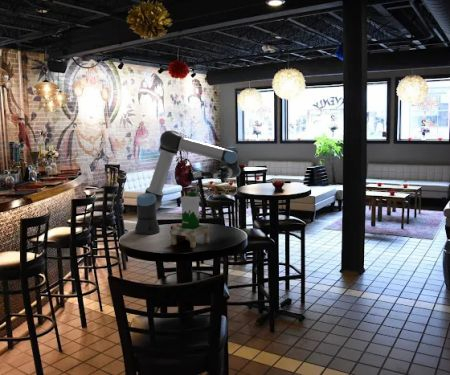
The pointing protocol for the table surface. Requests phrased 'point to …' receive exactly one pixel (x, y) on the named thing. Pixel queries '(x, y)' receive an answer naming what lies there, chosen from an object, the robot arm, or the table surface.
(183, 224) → the milk carton
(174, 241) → the stool
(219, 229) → the table surface
